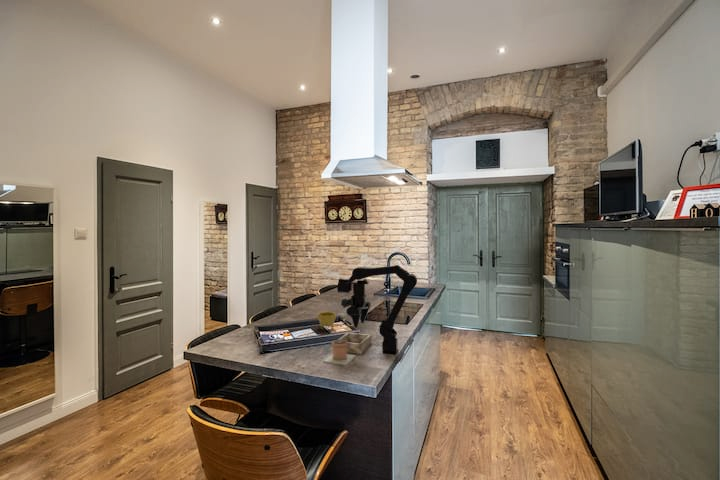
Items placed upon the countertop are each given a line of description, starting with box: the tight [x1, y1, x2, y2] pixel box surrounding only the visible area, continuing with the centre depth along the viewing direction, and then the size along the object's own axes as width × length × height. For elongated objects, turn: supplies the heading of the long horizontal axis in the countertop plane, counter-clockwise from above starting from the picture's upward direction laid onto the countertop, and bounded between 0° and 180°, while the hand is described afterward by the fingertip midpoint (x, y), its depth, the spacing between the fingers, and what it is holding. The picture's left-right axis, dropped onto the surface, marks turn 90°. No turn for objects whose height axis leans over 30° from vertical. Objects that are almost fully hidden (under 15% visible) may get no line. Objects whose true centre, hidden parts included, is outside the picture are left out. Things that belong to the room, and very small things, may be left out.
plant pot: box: [317, 311, 337, 327], centre depth 200 cm, size 10×10×10 cm
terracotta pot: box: [331, 339, 348, 361], centre depth 152 cm, size 7×7×7 cm
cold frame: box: [337, 332, 373, 355], centre depth 169 cm, size 13×16×4 cm
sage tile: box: [323, 353, 356, 366], centre depth 152 cm, size 11×11×1 cm
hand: (359, 325), depth 165 cm, fingers open, 9 cm apart
